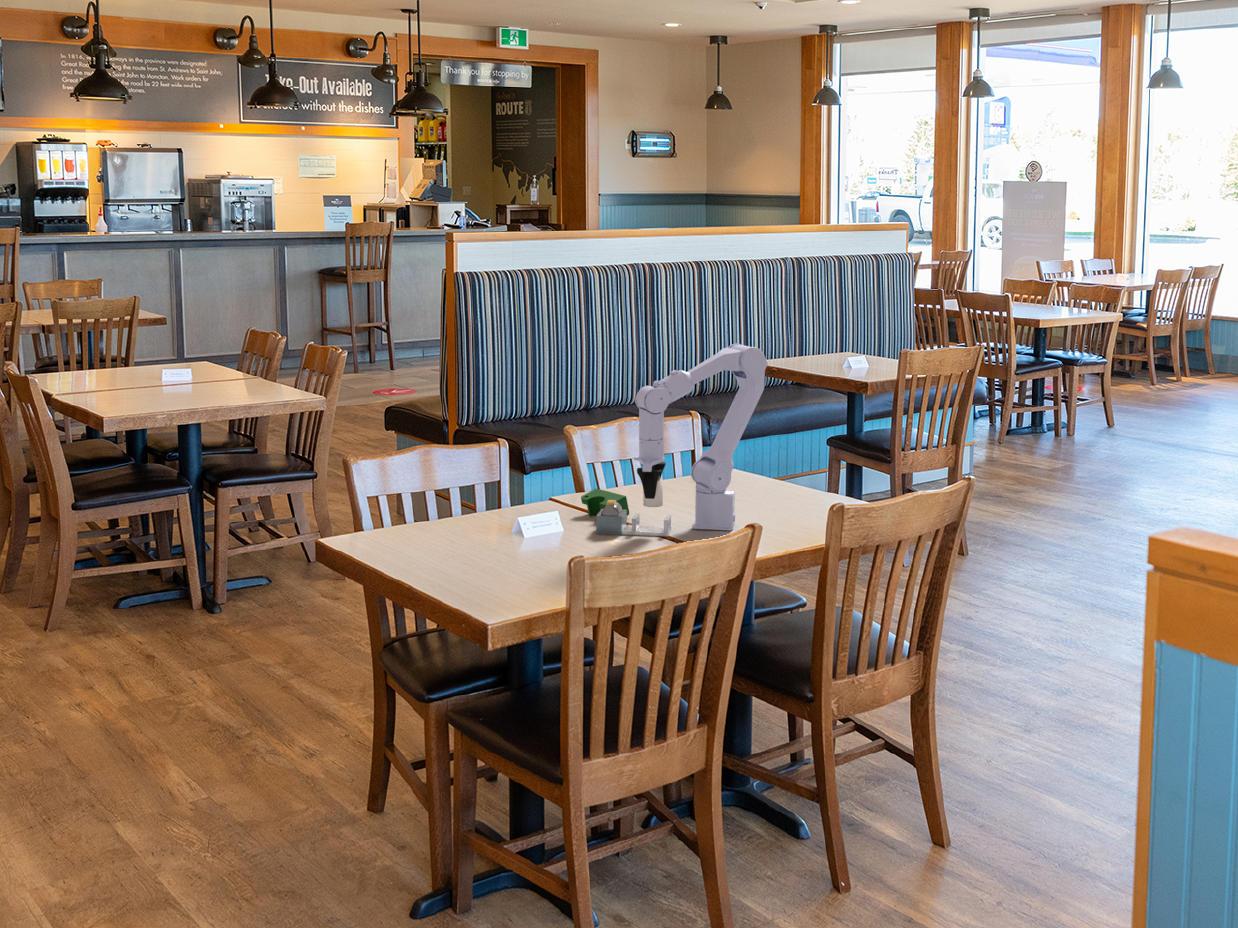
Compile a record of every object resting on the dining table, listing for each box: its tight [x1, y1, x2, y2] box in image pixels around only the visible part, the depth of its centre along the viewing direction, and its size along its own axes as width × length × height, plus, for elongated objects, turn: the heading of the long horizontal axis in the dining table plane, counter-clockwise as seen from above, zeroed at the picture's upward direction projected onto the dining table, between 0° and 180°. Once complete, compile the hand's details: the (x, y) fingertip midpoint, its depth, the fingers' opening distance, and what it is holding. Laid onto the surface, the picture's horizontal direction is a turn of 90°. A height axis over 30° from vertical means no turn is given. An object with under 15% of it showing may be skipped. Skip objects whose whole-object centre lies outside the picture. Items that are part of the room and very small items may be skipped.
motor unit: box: [595, 500, 672, 537], centre depth 287 cm, size 17×7×7 cm, turn 80°
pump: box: [642, 476, 664, 508], centre depth 285 cm, size 4×4×7 cm
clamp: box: [580, 488, 630, 518], centre depth 302 cm, size 12×6×9 cm, turn 35°
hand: (651, 495), depth 286 cm, fingers closed on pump, 4 cm apart
